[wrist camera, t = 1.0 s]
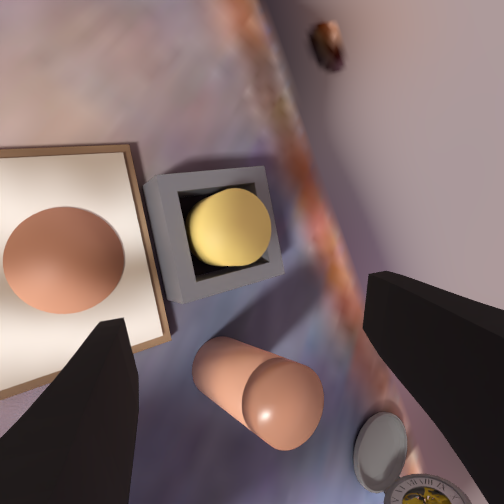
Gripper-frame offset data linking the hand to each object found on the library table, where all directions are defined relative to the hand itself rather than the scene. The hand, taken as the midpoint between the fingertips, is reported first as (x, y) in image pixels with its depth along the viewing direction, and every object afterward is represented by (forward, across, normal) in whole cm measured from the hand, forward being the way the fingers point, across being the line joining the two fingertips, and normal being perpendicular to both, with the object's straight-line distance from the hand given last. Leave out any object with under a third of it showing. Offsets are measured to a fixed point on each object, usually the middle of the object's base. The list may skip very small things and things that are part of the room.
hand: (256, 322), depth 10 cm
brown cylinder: (+10, 0, +11) cm, 15 cm away
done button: (+12, -1, +2) cm, 13 cm away
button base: (+14, 0, +3) cm, 14 cm away
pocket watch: (+9, -13, +25) cm, 29 cm away
